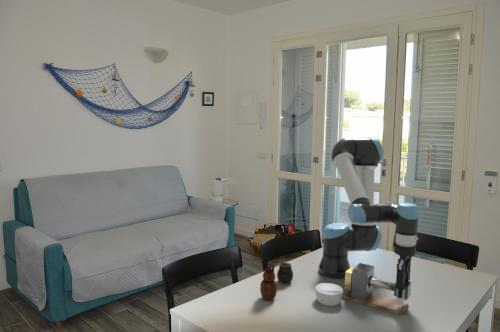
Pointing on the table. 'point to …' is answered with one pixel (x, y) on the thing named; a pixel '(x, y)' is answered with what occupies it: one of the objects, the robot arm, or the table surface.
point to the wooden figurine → (268, 284)
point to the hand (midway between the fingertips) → (401, 302)
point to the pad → (347, 292)
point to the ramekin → (328, 294)
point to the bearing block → (362, 282)
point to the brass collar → (348, 279)
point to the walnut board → (381, 303)
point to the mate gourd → (285, 273)
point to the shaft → (390, 286)
